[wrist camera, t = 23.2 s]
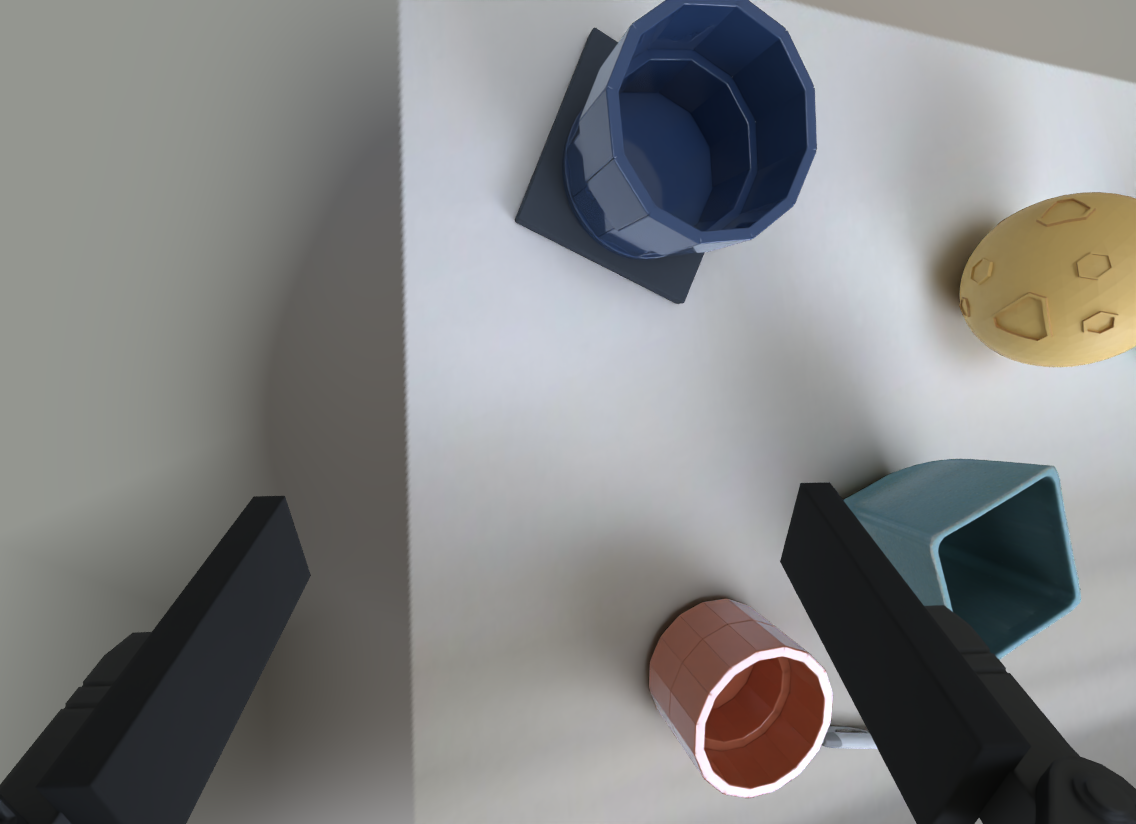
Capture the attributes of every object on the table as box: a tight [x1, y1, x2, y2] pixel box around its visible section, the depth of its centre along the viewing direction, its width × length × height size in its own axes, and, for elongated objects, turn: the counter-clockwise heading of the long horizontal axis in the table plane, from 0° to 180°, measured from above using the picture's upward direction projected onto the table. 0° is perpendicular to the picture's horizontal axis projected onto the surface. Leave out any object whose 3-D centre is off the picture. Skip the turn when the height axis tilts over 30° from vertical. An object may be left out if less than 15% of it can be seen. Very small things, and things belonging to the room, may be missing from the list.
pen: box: [822, 726, 878, 749], centre depth 38 cm, size 1×14×1 cm, turn 77°
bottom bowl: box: [649, 599, 833, 798], centre depth 31 cm, size 8×8×6 cm
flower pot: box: [844, 459, 1081, 660], centre depth 32 cm, size 9×9×9 cm
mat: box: [515, 28, 704, 304], centre depth 28 cm, size 10×10×1 cm
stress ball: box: [959, 192, 1136, 367], centre depth 31 cm, size 10×10×10 cm
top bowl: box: [562, 0, 817, 260], centre depth 24 cm, size 9×9×7 cm
